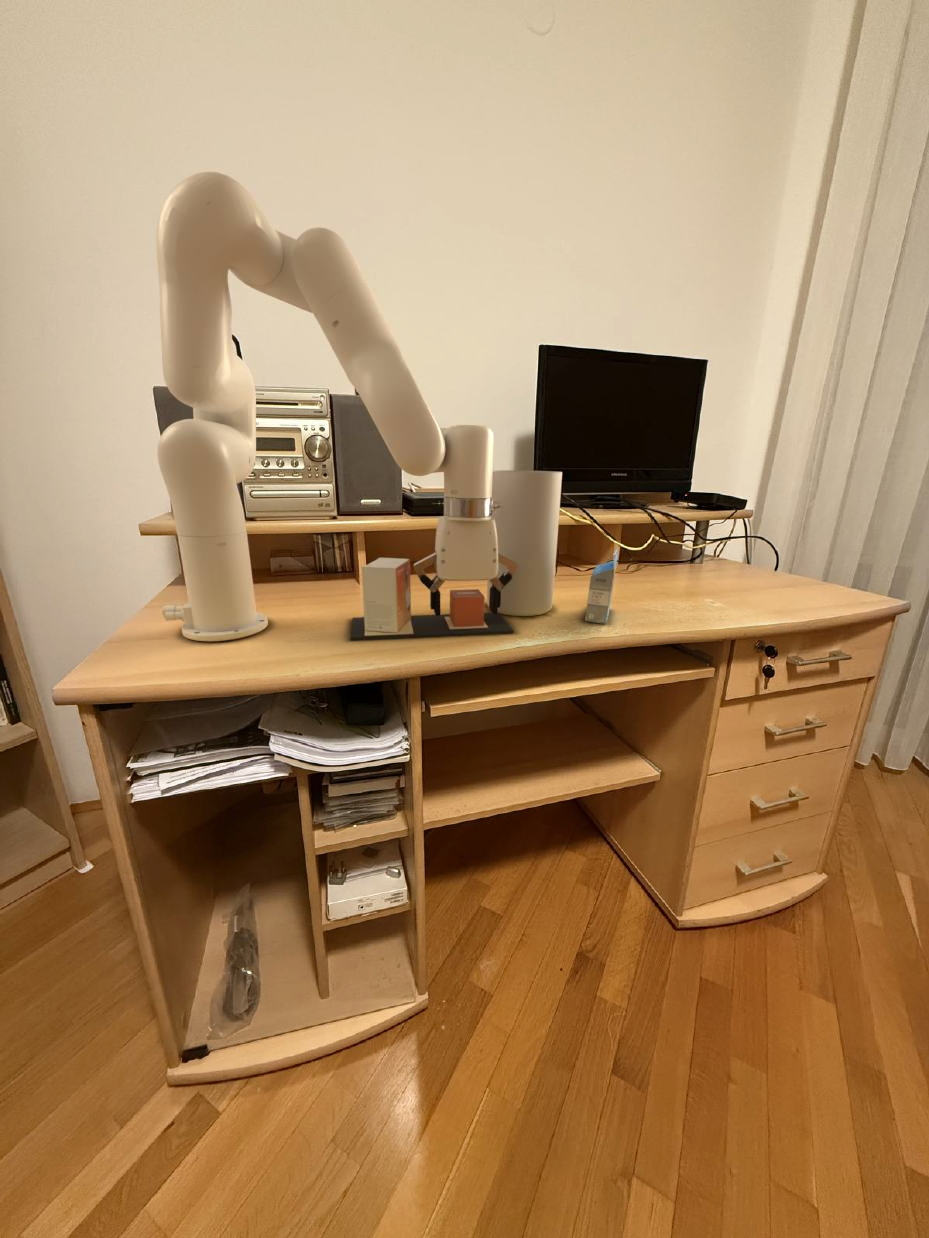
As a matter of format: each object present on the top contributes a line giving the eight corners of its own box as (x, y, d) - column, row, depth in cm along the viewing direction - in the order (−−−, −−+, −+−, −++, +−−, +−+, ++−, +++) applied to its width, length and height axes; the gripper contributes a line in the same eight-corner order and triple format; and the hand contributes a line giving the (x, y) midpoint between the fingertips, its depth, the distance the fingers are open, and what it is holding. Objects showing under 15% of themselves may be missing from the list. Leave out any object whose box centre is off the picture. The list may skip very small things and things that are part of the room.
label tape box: (589, 608, 94) (595, 544, 90) (611, 610, 93) (618, 546, 89) (584, 621, 86) (591, 552, 82) (608, 624, 85) (616, 554, 81)
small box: (397, 634, 77) (395, 568, 73) (363, 631, 78) (360, 566, 74) (412, 618, 84) (411, 558, 81) (381, 616, 85) (378, 556, 82)
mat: (350, 640, 75) (349, 636, 75) (352, 620, 85) (352, 617, 85) (513, 633, 80) (513, 629, 80) (498, 614, 89) (498, 611, 89)
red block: (454, 627, 80) (454, 597, 79) (449, 617, 85) (449, 589, 84) (483, 625, 81) (484, 596, 80) (477, 616, 86) (478, 588, 84)
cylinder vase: (478, 613, 90) (482, 471, 82) (495, 596, 101) (500, 470, 93) (546, 620, 86) (556, 473, 78) (556, 602, 98) (566, 471, 90)
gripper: (514, 507, 82) (509, 604, 88) (411, 506, 79) (412, 607, 85) (527, 511, 75) (520, 617, 81) (414, 511, 72) (415, 621, 78)
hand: (465, 612), depth 83 cm, fingers open, 9 cm apart
